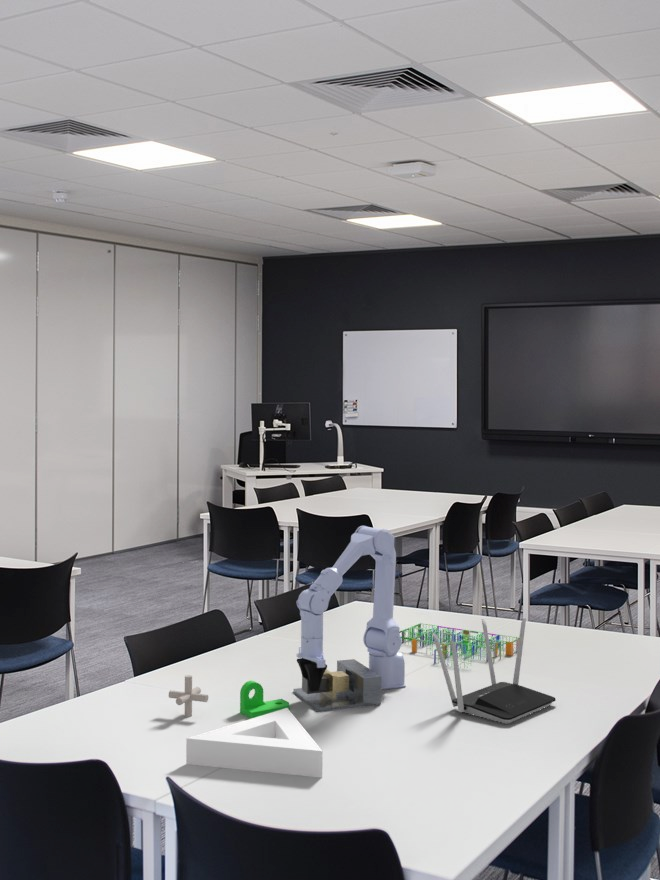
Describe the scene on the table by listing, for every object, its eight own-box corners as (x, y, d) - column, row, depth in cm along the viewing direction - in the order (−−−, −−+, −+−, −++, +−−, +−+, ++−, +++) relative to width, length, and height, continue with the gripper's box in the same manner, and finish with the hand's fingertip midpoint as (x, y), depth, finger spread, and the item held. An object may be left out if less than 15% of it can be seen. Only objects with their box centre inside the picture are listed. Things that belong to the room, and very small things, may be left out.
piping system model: (520, 652, 314) (520, 637, 314) (481, 673, 289) (482, 657, 289) (421, 637, 333) (421, 622, 332) (376, 655, 308) (377, 640, 308)
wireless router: (495, 733, 236) (497, 649, 235) (418, 711, 252) (419, 633, 251) (567, 702, 261) (568, 626, 260) (492, 684, 276) (493, 612, 276)
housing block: (353, 686, 273) (354, 659, 273) (381, 705, 257) (381, 676, 256) (293, 692, 267) (293, 664, 267) (317, 712, 250) (317, 682, 250)
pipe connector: (215, 712, 249) (215, 673, 249) (197, 724, 240) (197, 683, 239) (179, 708, 253) (179, 669, 252) (160, 720, 243) (160, 679, 243)
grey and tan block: (338, 687, 267) (339, 665, 266) (351, 696, 258) (352, 674, 258) (298, 691, 263) (298, 669, 262) (310, 701, 254) (310, 678, 254)
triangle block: (322, 781, 207) (322, 751, 207) (197, 794, 199) (197, 763, 199) (287, 734, 236) (287, 707, 235) (176, 744, 228) (176, 716, 228)
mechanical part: (251, 720, 244) (251, 688, 244) (240, 714, 249) (240, 682, 249) (293, 712, 251) (293, 681, 250) (281, 706, 256) (281, 675, 255)
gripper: (288, 631, 264) (287, 682, 264) (307, 644, 250) (306, 697, 251) (313, 629, 266) (312, 679, 267) (333, 642, 253) (332, 695, 253)
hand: (311, 688), depth 259 cm, fingers closed on grey and tan block, 4 cm apart
